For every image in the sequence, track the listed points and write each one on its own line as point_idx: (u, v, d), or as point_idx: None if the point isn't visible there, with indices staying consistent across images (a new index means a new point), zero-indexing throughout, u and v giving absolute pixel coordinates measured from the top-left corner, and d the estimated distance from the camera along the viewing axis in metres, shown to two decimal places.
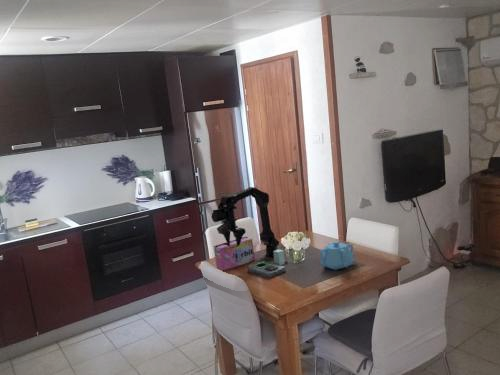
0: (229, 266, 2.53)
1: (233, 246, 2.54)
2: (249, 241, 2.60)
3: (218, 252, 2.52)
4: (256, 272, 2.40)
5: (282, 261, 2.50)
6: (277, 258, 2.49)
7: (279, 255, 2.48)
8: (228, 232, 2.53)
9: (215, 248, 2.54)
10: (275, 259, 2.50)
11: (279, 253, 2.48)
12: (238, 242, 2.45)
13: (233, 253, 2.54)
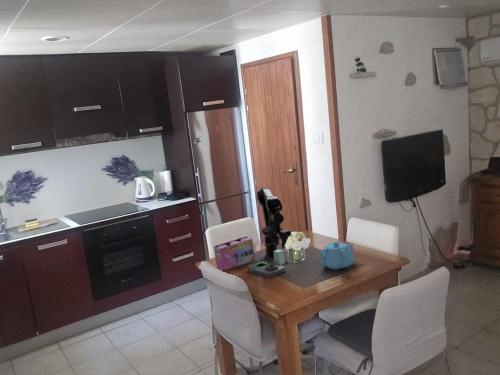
0: (229, 266, 2.53)
1: (233, 246, 2.54)
2: (249, 241, 2.60)
3: (218, 252, 2.51)
4: (256, 272, 2.40)
5: (282, 261, 2.50)
6: (277, 258, 2.49)
7: (279, 255, 2.48)
8: (272, 234, 2.53)
9: (215, 248, 2.54)
10: (275, 259, 2.50)
11: (279, 253, 2.48)
12: (283, 244, 2.45)
13: (233, 254, 2.54)
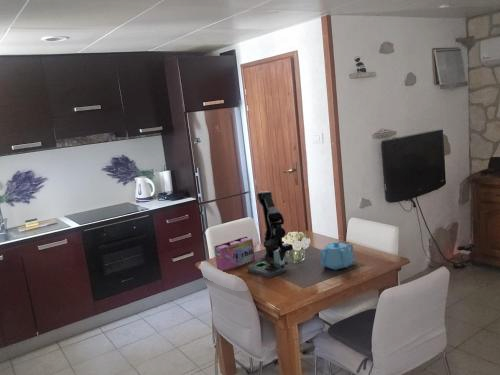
0: (230, 266, 2.53)
1: (233, 246, 2.54)
2: (249, 241, 2.60)
3: (218, 252, 2.51)
4: (256, 272, 2.40)
5: (282, 261, 2.50)
6: (277, 258, 2.49)
7: (279, 255, 2.48)
8: (276, 248, 2.53)
9: (215, 248, 2.53)
10: (275, 259, 2.50)
11: (279, 253, 2.48)
12: (282, 257, 2.48)
13: (233, 254, 2.54)
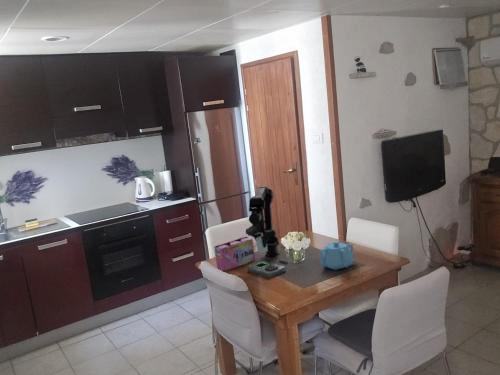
0: (230, 266, 2.53)
1: (234, 246, 2.54)
2: (249, 241, 2.60)
3: (219, 252, 2.51)
4: (256, 272, 2.40)
5: (265, 248, 2.43)
6: (260, 245, 2.42)
7: (262, 242, 2.41)
8: (259, 235, 2.46)
9: (216, 248, 2.53)
10: (258, 246, 2.44)
11: None
12: (265, 244, 2.42)
13: (234, 254, 2.54)
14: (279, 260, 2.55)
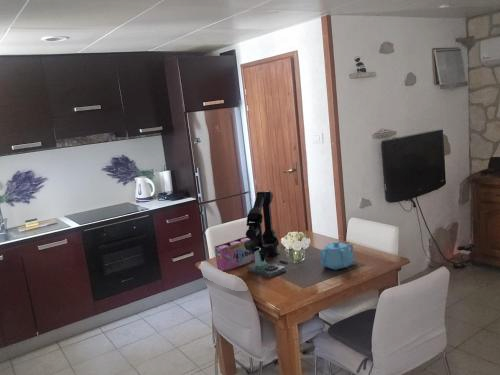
0: (230, 266, 2.53)
1: (234, 246, 2.53)
2: None
3: (219, 252, 2.51)
4: (256, 272, 2.40)
5: (263, 262, 2.44)
6: (258, 259, 2.43)
7: (260, 256, 2.42)
8: (257, 248, 2.47)
9: (216, 248, 2.53)
10: (256, 260, 2.44)
11: None
12: (263, 258, 2.42)
13: (234, 254, 2.54)
14: (279, 260, 2.55)
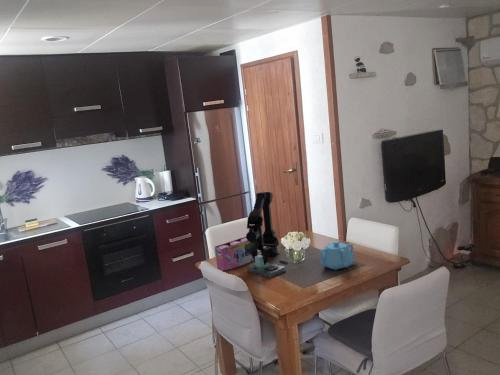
0: (230, 266, 2.53)
1: (234, 246, 2.53)
2: None
3: (219, 252, 2.50)
4: (256, 272, 2.40)
5: None
6: (258, 263, 2.43)
7: (260, 261, 2.43)
8: (255, 250, 2.48)
9: (216, 248, 2.53)
10: (256, 265, 2.45)
11: (260, 258, 2.42)
12: (265, 261, 2.41)
13: (234, 254, 2.53)
14: (279, 260, 2.55)
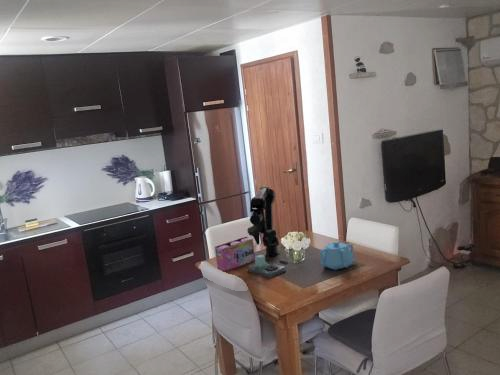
0: (230, 266, 2.52)
1: (234, 246, 2.53)
2: (249, 241, 2.59)
3: (219, 252, 2.50)
4: (256, 272, 2.40)
5: None
6: (258, 263, 2.43)
7: (260, 261, 2.43)
8: (258, 233, 2.53)
9: (216, 249, 2.52)
10: (256, 265, 2.45)
11: (260, 258, 2.42)
12: (269, 244, 2.45)
13: (234, 254, 2.53)
14: (279, 260, 2.55)
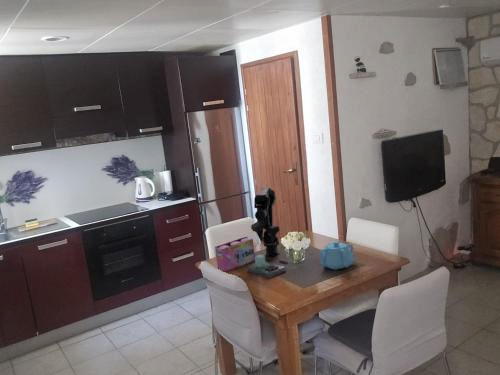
0: (231, 267, 2.52)
1: (234, 246, 2.53)
2: (249, 241, 2.59)
3: (220, 252, 2.50)
4: (256, 272, 2.40)
5: None
6: (258, 263, 2.43)
7: (260, 261, 2.43)
8: (261, 230, 2.57)
9: (216, 249, 2.52)
10: (256, 265, 2.45)
11: (260, 258, 2.42)
12: (272, 240, 2.49)
13: (234, 254, 2.53)
14: (279, 260, 2.55)
